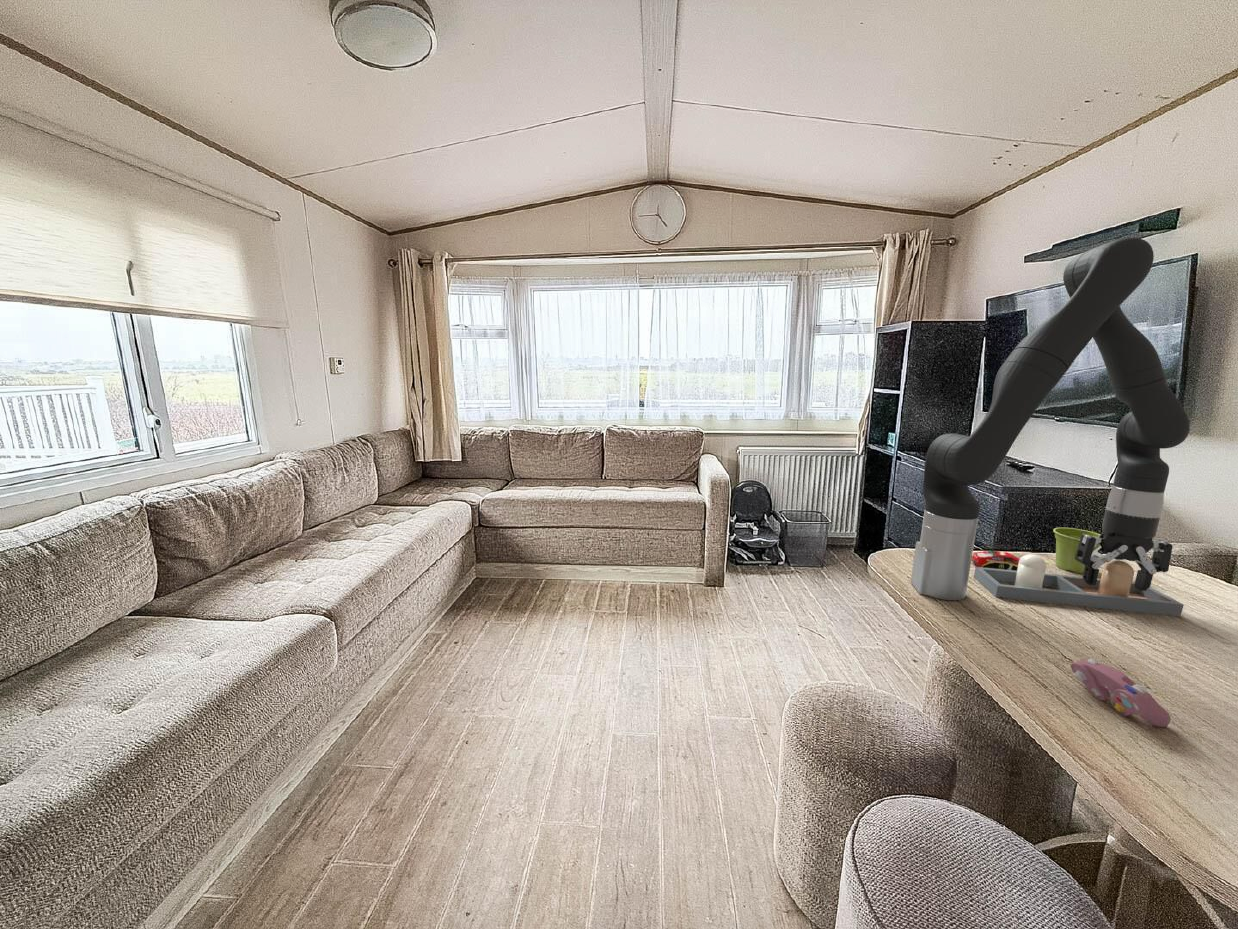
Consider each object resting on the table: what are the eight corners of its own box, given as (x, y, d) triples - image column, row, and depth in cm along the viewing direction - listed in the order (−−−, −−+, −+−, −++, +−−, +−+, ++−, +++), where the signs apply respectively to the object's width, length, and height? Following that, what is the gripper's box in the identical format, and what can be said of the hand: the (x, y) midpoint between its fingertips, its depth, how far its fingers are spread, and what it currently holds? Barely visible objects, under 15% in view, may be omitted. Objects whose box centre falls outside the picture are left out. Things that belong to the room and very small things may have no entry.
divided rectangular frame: (995, 597, 101) (997, 585, 101) (973, 577, 111) (975, 566, 110) (1180, 616, 94) (1183, 604, 93) (1140, 593, 103) (1142, 582, 103)
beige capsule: (1106, 602, 99) (1115, 564, 97) (1091, 592, 103) (1100, 555, 101) (1133, 604, 98) (1142, 566, 96) (1117, 594, 102) (1125, 558, 100)
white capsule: (1020, 594, 102) (1027, 557, 101) (1009, 585, 107) (1016, 550, 105) (1045, 597, 101) (1052, 560, 100) (1033, 588, 106) (1040, 552, 104)
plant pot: (1111, 577, 112) (1120, 541, 110) (1070, 576, 112) (1077, 540, 110) (1074, 561, 121) (1081, 527, 119) (1036, 560, 121) (1043, 527, 119)
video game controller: (1071, 692, 74) (1060, 656, 72) (1098, 679, 74) (1088, 642, 72) (1146, 742, 64) (1135, 701, 63) (1177, 726, 64) (1167, 685, 63)
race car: (1034, 570, 116) (1037, 554, 115) (1044, 579, 111) (1047, 562, 110) (968, 561, 121) (971, 545, 120) (975, 569, 116) (977, 553, 115)
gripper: (1102, 512, 95) (1085, 590, 98) (1194, 519, 91) (1173, 599, 95) (1077, 502, 102) (1062, 575, 105) (1161, 508, 99) (1142, 583, 102)
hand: (1114, 586), depth 100 cm, fingers open, 8 cm apart
